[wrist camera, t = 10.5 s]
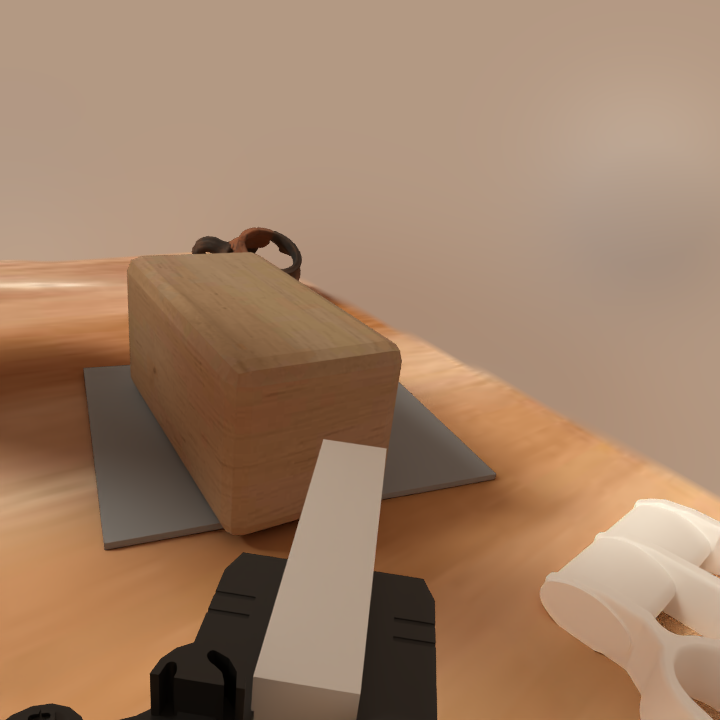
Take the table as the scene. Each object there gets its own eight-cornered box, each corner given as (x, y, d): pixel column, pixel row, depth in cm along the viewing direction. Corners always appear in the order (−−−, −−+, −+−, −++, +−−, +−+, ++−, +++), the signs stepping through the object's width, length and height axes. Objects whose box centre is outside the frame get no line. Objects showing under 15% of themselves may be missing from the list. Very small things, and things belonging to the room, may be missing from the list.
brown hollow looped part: (282, 281, 78) (307, 233, 73) (282, 338, 72) (310, 290, 67) (185, 253, 74) (205, 199, 68) (177, 311, 68) (197, 257, 62)
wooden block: (226, 548, 32) (127, 383, 47) (387, 500, 37) (252, 366, 52) (233, 370, 28) (123, 252, 43) (412, 345, 33) (257, 248, 48)
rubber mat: (83, 372, 48) (83, 368, 48) (363, 353, 59) (363, 349, 58) (104, 550, 31) (104, 543, 31) (495, 479, 41) (496, 473, 41)
